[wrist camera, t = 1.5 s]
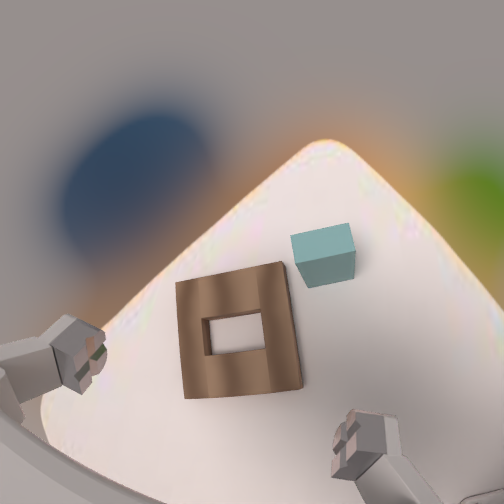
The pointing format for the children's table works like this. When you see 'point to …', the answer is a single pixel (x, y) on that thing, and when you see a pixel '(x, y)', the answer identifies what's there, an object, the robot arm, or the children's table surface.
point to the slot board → (231, 305)
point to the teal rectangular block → (325, 255)
